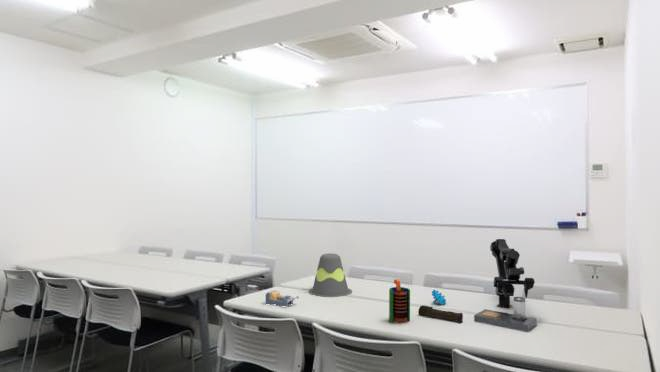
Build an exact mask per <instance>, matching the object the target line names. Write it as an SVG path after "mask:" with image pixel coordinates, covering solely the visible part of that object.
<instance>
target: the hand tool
mask: <svg viewBox="0 0 660 372" xmlns="http://www.w3.org/2000/svg"><path fill="white" fill-rule="evenodd" d="M417 312H418V315H419V316H421V317H425V318H437V319H443V320H447V321H453V322H458V323H459V324H461V323H462V322H463V319H464V314H463V312H454V311H450V310H449V311H448V310H441V309H436V308H433V306H429V305H420V306H419V308H418V311H417Z"/></svg>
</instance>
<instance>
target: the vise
mask: <svg viewBox="0 0 660 372" xmlns="http://www.w3.org/2000/svg"><path fill="white" fill-rule="evenodd" d="M299 298H300V296H299V295H296V296H295V297H294V296H291V295H282V294H281V292H280V291H279V290H271V291H269V292H267V293H265V303H266V304H276V305H275V306H277V305H280V306H288V307H289V305H288V304H293V305H294V301H296V299H299ZM265 303H264V304H265ZM266 304H265V305H266ZM280 306H279V307H280Z"/></svg>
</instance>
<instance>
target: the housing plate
mask: <svg viewBox="0 0 660 372" xmlns="http://www.w3.org/2000/svg"><path fill="white" fill-rule="evenodd" d="M473 321H474V322H476V323H480V324H486V325H491V326H497V327H500V328H501V327H502V328H506V329H511V330H516V331H521V332H525V333H526V332H527V333H528V332H530V331H531V330H532V329H533V328H535V327H536V326H537V325H538V324H537V322H538V320H537V318H536V317H530V316H526V315H525V321H519V320H514V313H508V312H502V311H497V310H492V309H487V308H485V309H483V310H481V311H479V312H478V313H475V314H474V315H473Z"/></svg>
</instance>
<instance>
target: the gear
mask: <svg viewBox="0 0 660 372" xmlns="http://www.w3.org/2000/svg"><path fill="white" fill-rule="evenodd" d="M431 295H432V296H433V299H434V300H433V301H432V303H433V304H435V303H439V305H442V306H445V305H446V304H447V300H446V298H445V297H446V296H445V295H444V294H443V293H442V292H439V290H436V289H433V290H432V291H431Z"/></svg>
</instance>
